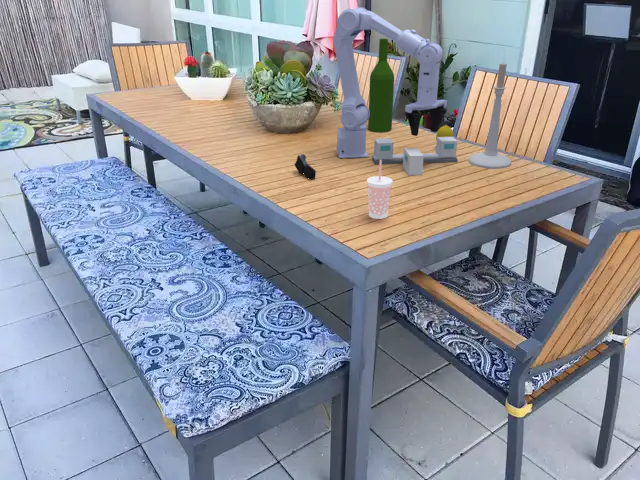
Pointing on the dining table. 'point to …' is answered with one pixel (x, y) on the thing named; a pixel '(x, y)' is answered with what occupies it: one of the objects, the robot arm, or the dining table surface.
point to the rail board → (443, 153)
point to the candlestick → (493, 132)
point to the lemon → (444, 132)
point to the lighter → (304, 167)
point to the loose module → (413, 161)
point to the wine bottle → (381, 93)
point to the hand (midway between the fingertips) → (424, 133)
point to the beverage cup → (379, 195)
